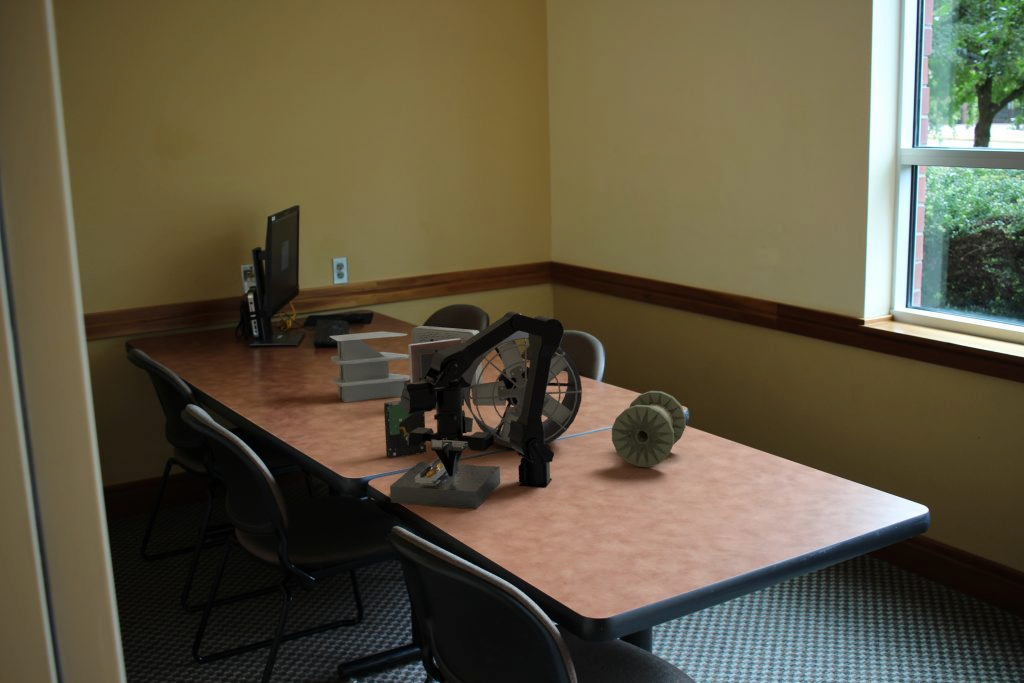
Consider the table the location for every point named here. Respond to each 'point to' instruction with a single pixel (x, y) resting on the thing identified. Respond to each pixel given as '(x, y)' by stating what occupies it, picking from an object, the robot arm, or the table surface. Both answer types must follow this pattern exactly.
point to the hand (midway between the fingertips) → (451, 476)
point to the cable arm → (431, 472)
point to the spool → (648, 428)
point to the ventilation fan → (523, 391)
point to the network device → (440, 333)
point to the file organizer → (366, 368)
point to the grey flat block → (447, 487)
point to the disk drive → (401, 430)
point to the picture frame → (426, 357)
